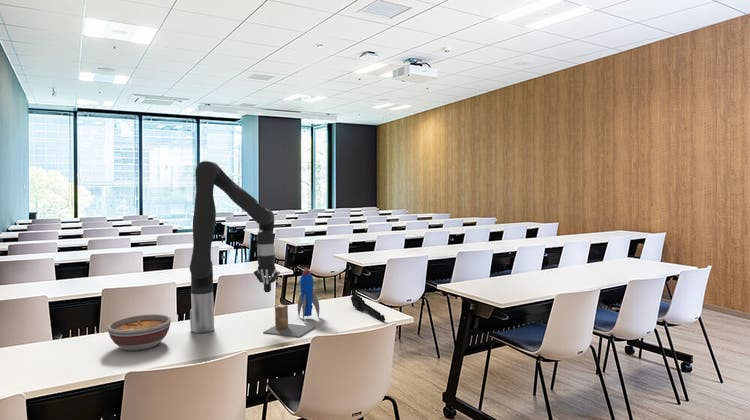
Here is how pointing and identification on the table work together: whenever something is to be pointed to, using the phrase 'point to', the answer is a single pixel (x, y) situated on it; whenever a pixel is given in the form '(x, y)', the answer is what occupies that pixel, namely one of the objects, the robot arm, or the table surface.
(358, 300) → the black long tapered piece
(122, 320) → the bowl
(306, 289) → the toy rocket
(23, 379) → the table surface
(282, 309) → the walnut block
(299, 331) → the rubber mat
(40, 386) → the table surface
